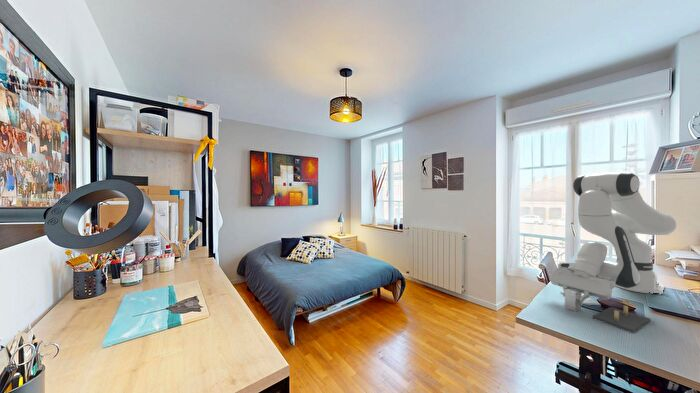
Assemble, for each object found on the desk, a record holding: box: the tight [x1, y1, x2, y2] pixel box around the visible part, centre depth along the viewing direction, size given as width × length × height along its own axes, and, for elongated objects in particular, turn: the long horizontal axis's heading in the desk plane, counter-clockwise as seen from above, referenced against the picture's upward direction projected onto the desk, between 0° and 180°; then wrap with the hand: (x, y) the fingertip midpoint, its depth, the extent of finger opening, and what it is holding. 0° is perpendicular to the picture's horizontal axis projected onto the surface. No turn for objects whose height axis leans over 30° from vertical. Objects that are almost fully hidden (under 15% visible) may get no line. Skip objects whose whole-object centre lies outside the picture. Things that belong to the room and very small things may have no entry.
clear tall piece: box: [564, 288, 583, 312], centre depth 106 cm, size 5×4×8 cm
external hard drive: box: [560, 290, 601, 306], centre depth 114 cm, size 2×8×12 cm
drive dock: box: [592, 305, 652, 334], centre depth 96 cm, size 16×11×4 cm
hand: (572, 298), depth 106 cm, fingers closed on clear tall piece, 4 cm apart
